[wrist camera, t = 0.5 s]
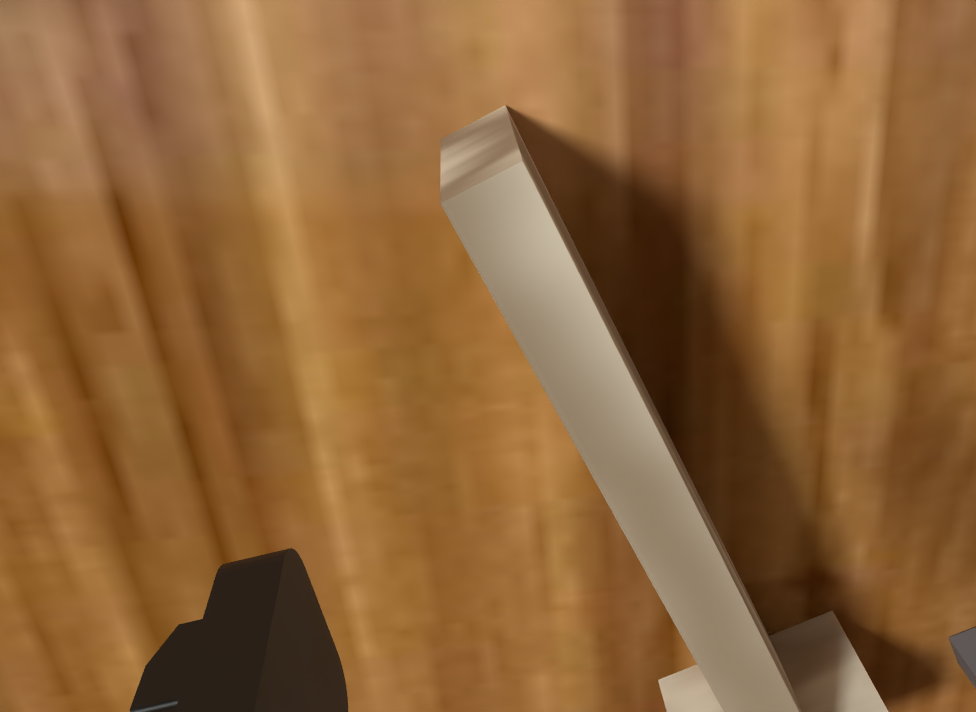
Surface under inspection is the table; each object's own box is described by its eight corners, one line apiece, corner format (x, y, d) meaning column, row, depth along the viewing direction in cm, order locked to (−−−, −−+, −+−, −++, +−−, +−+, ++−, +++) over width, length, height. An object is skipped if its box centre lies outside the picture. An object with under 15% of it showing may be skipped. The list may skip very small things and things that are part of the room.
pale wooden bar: (588, 60, 24) (629, 105, 19) (844, 636, 34) (919, 774, 29) (362, 180, 26) (341, 254, 20) (672, 704, 35) (713, 847, 30)
